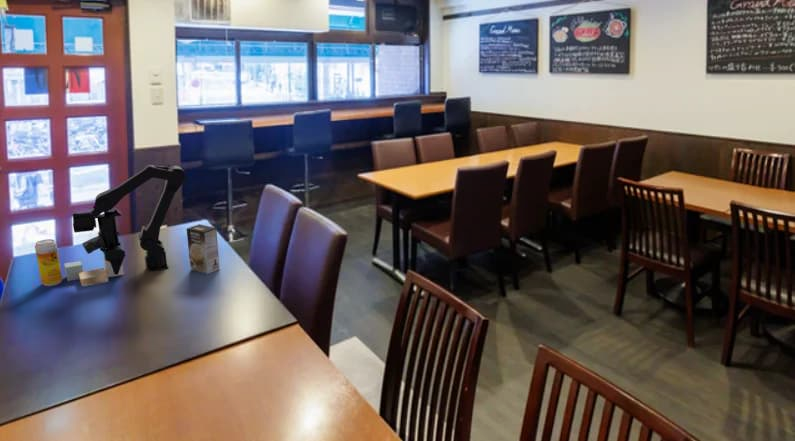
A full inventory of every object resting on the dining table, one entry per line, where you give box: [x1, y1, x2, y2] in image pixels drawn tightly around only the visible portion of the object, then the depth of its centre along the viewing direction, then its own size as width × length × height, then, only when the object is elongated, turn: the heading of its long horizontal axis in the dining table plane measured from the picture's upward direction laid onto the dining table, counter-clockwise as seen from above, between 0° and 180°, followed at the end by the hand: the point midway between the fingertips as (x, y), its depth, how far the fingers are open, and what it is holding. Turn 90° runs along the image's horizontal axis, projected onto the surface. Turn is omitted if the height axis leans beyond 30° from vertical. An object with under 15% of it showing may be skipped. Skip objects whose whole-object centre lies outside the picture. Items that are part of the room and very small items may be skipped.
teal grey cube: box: [64, 260, 84, 282], centre depth 189 cm, size 5×5×5 cm
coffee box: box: [186, 224, 221, 275], centre depth 196 cm, size 9×6×16 cm
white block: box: [103, 257, 125, 278], centre depth 193 cm, size 5×5×6 cm
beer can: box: [34, 239, 63, 287], centre depth 182 cm, size 6×6×15 cm
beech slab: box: [78, 267, 109, 287], centre depth 187 cm, size 8×8×3 cm
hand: (114, 270), depth 193 cm, fingers open, 9 cm apart
